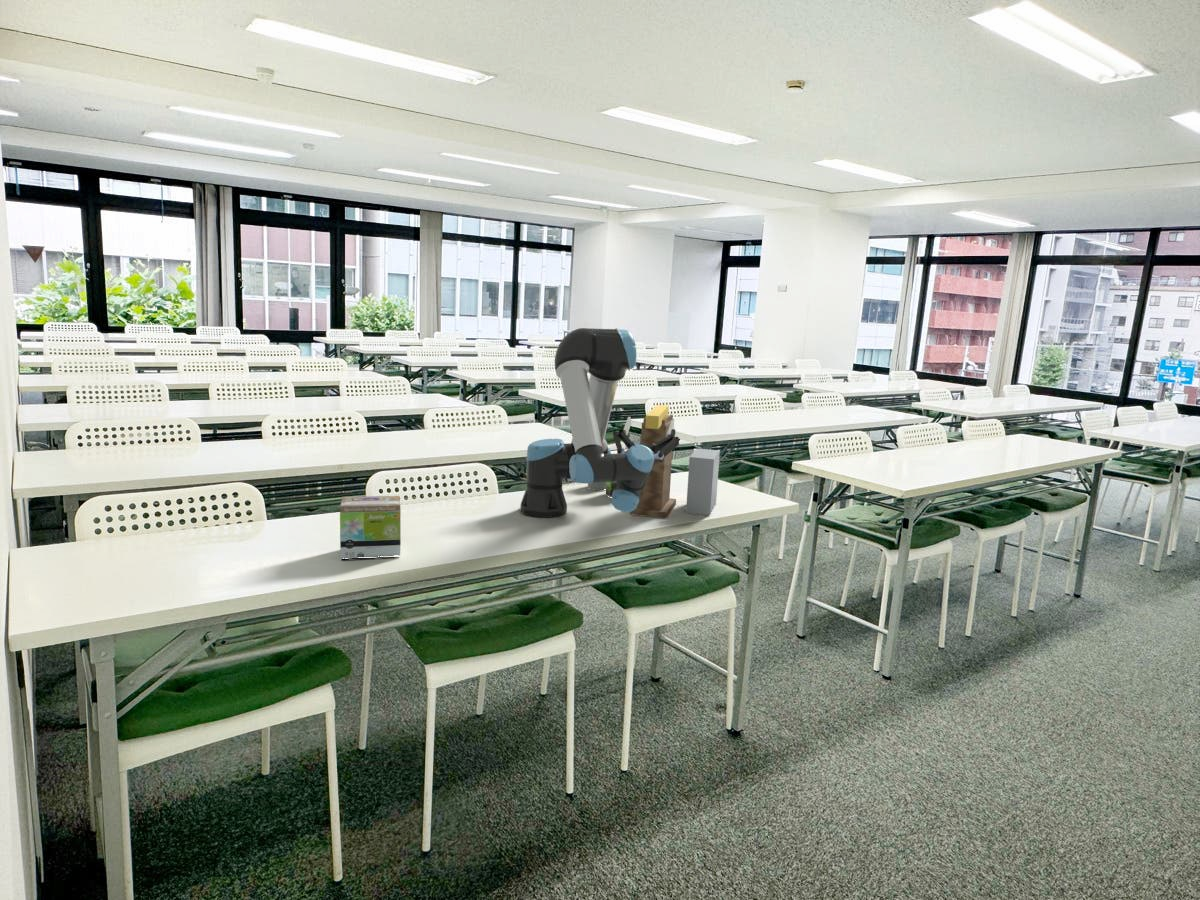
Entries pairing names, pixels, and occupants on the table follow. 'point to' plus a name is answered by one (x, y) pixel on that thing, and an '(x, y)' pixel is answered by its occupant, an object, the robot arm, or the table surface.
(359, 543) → the tea box
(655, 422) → the block
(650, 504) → the stand
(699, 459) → the grey slab
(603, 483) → the cup
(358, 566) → the table surface
